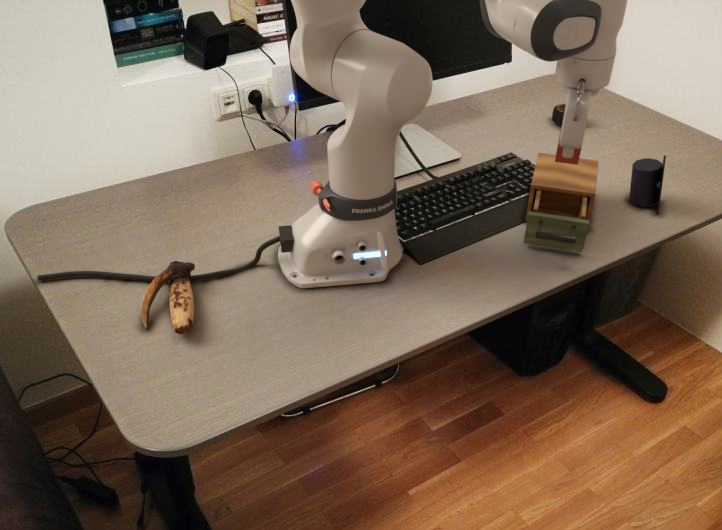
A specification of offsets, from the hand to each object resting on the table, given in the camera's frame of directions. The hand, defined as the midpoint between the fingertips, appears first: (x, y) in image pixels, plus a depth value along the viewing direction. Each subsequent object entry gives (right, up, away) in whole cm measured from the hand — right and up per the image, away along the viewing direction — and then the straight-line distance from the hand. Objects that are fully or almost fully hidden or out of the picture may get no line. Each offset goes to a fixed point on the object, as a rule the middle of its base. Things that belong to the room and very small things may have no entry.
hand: (568, 149), depth 119 cm
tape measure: (+11, +20, +50) cm, 55 cm away
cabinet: (+3, -6, +20) cm, 21 cm away
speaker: (+20, -5, +22) cm, 31 cm away
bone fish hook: (-67, -28, -7) cm, 73 cm away
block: (0, -1, +1) cm, 2 cm away
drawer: (0, -14, +10) cm, 17 cm away
